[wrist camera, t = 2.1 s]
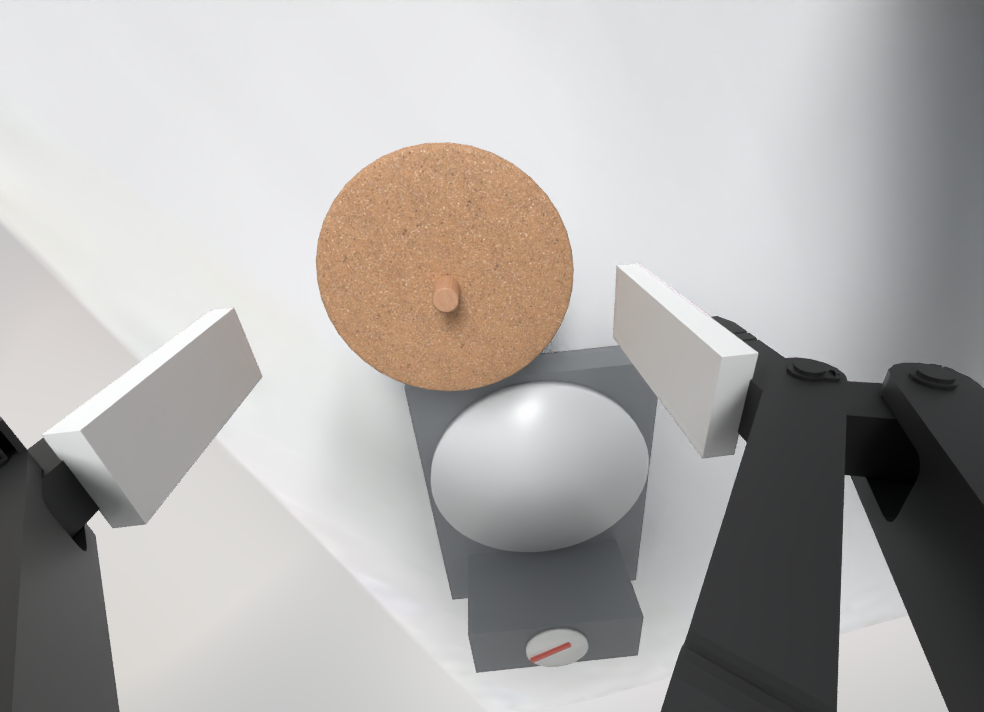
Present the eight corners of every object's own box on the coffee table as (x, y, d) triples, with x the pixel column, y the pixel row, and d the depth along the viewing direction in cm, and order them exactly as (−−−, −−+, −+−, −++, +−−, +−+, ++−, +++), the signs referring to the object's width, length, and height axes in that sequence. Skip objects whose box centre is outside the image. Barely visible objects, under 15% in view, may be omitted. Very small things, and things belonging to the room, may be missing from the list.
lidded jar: (501, 98, 21) (523, 82, 13) (569, 284, 26) (616, 358, 18) (319, 191, 23) (236, 229, 15) (415, 350, 28) (393, 445, 20)
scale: (646, 342, 28) (716, 426, 20) (626, 554, 39) (666, 663, 31) (409, 367, 28) (387, 461, 20) (453, 572, 39) (450, 686, 31)
